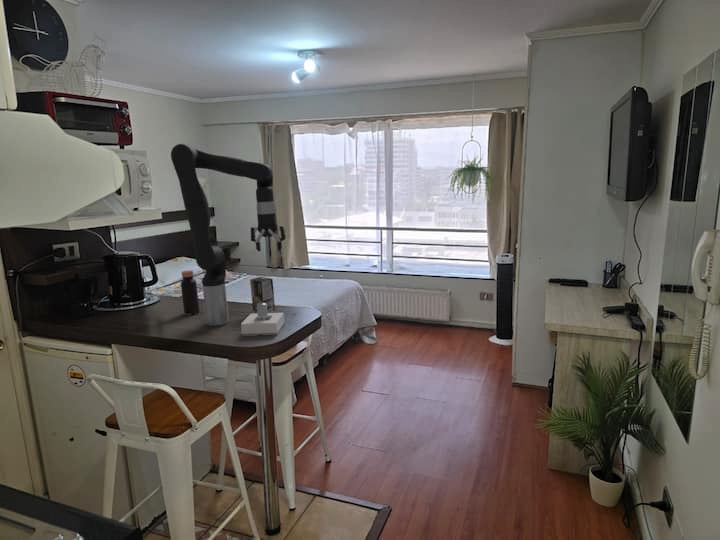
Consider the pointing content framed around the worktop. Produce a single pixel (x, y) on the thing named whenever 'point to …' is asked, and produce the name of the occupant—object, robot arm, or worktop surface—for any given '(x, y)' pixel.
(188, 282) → the bottle
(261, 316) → the peg
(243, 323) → the socket block
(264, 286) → the coffee box
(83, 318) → the worktop surface
